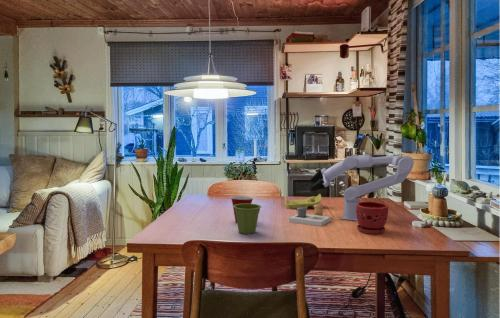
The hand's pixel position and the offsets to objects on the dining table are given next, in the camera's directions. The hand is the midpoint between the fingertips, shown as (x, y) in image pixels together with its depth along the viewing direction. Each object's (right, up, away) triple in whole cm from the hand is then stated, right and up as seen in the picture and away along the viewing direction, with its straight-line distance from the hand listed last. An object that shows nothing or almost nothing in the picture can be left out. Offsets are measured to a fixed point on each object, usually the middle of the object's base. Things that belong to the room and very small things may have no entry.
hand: (311, 185), depth 212 cm
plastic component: (-2, -14, +21) cm, 25 cm away
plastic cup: (-35, -16, -14) cm, 41 cm away
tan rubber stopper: (+3, -15, -3) cm, 16 cm away
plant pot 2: (+21, -18, -32) cm, 42 cm away
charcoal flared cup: (-6, -16, -11) cm, 20 cm away
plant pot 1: (-32, -18, -33) cm, 49 cm away
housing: (-3, -16, -13) cm, 21 cm away
